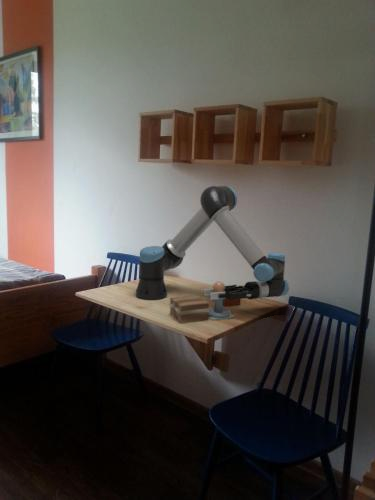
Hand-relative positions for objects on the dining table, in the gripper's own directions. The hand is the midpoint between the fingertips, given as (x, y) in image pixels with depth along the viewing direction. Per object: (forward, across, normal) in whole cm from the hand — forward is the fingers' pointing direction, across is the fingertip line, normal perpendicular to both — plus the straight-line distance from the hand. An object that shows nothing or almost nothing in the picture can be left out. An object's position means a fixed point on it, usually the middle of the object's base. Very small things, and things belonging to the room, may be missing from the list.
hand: (207, 294), depth 173 cm
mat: (-5, 0, -10) cm, 11 cm away
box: (+7, +2, -10) cm, 12 cm away
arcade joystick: (-5, 0, -9) cm, 10 cm away
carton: (-18, +17, -10) cm, 27 cm away
